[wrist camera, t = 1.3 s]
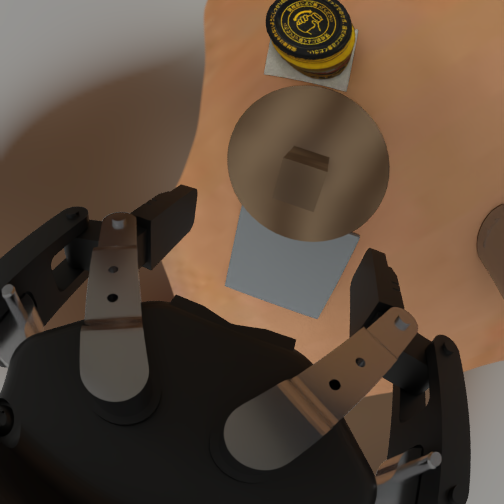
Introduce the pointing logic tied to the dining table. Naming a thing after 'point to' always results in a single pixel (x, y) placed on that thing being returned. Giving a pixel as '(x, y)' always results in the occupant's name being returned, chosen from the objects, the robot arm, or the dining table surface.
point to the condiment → (311, 42)
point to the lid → (308, 163)
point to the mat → (286, 266)
